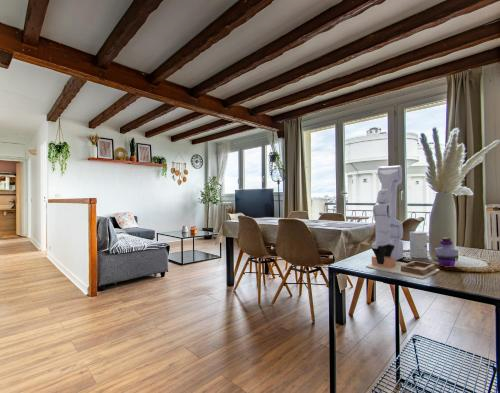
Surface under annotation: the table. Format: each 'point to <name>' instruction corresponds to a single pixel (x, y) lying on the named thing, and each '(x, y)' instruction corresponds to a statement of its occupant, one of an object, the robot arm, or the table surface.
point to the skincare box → (418, 244)
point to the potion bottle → (446, 253)
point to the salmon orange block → (385, 262)
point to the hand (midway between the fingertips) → (383, 262)
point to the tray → (418, 267)
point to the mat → (398, 271)
